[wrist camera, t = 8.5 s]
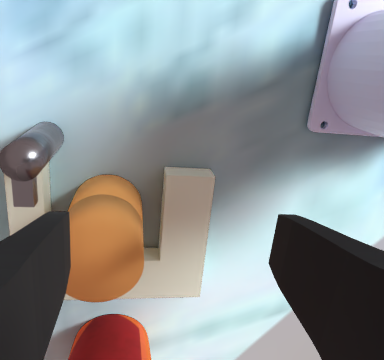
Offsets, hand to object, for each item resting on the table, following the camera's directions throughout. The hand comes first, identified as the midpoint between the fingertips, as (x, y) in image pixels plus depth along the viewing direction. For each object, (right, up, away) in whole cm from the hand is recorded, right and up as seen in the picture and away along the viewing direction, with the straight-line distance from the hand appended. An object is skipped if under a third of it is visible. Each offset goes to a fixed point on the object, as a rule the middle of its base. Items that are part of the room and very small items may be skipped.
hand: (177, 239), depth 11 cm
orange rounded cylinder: (-5, 0, +10) cm, 11 cm away
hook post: (-8, +5, +8) cm, 12 cm away
